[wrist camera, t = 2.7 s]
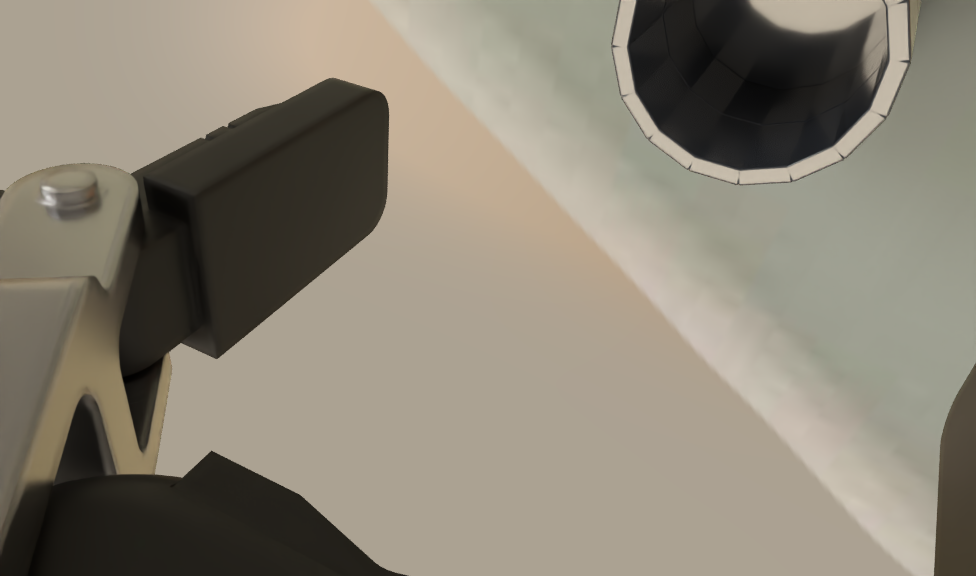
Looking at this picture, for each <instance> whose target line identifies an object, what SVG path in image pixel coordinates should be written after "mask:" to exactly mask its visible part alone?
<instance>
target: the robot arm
mask: <svg viewBox="0 0 976 576" xmlns="http://www.w3.org/2000/svg"><path fill="white" fill-rule="evenodd" d="M388 132H389V108H388V103H387V100H386V98H385V96H384V95H383V94H382V93H381V92H379V91H376V90H372V89H369V88H366V87H362V86H359V85H356V84H353V83H349V82H346V81H343V80H340V79H336V78H329V79H326V80H324V81H322V82H320V83H318V84H317V85H315V86H313V87H311V88H309V89H307V90H305V91H303V92H302V93H300V94H298V95H296V96H294V97H292V98H290V99H288V100H286V101H285V102H282V103H280V104H275V105H272V106H267V107H263V108H259V109H255V110H253V111H251V112H249V113H248V114H246V115H244V116H242V117H240V118H238V119H236V120H234V121H232V122H230V123H229V124H228V127H224V126H222V127H220V128H218V129H217V130H215V131H213V132H211V133H209V134H207V135H206V138H205V139H203V138H199V139H197V140H196V141H194V142H191V143H189V144H188V145H186V146H184V147H182V148H180V149H178V150H176V151H174V152H172V153H170V154H168V155H167V156H164V157H163V158H161V159H159V160H157V161H155V162H153V163H151V164H149V165H147V166H145V167H143V168H141V169H139V170H137V171H135V172H133V173H132V174H129V173H127V172H125V171H123V170H121V169H119V168H116V167H112V166H107V165H102V164H90V163H80V164H67V165H60V166H55V167H50V168H46V169H42V170H39V171H36V172H34V173H31V174H29V175H26V176H24V177H22V178H20V179H19V180H17V181H16V182H14V183H13V184H12V185H10V186H9V187H8V188H7V190H6V191H4V190H0V576H407V575H403V574H398V573H395V572H392V571H388V570H386V569H384V568H382V567H380V566H379V565H378V564H376V563H375V562H374V561H373V560H371V559H370V558H369V557H368V556H367V555H366V554H365V553H364V552H363V551H362V550H360V549H359V548H358V547H357V546H356V545H355V544H354V543H353V542H352V541H350V540H349V539H348V538H347V537H346V536H345V535H344V534H343V533H342V532H340V531H339V530H338V529H337V528H336V527H335V526H334V525H333V524H332V523H331V522H329V521H328V520H327V519H326V518H325V517H324V516H323V515H322V514H321V513H320V512H318V511H317V510H316V509H315V508H314V507H313V506H312V505H311V504H310V503H308V502H307V501H306V500H305V499H304V498H303V497H302V496H301V495H299V494H297V493H295V492H293V491H291V490H289V489H287V488H285V487H283V486H281V485H279V484H277V483H275V482H273V481H271V480H269V479H267V478H265V477H263V476H261V475H259V474H257V473H255V472H253V471H251V470H248V469H247V468H245V467H243V466H241V465H239V464H237V463H235V462H233V461H231V460H229V459H227V458H225V457H223V456H221V455H219V454H217V453H215V452H213V451H211V452H210V453H209V454H208V455H206V456H205V457H204V458H203V459H202V460H201V461H200V462H199V463H198V464H197V465H196V466H195V467H194V468H193V469H192V470H190V471H189V472H188V473H187V474H186V475H185V476H184V477H183V478H181V477H173V476H164V475H155V469H156V463H157V457H158V451H159V445H160V439H161V433H162V428H163V421H164V416H165V410H166V404H167V398H168V392H169V386H170V380H171V374H172V365H171V360H170V355H169V351H171V350H172V349H173V348H175V347H176V346H177V345H178V344H180V343H183V344H185V345H187V346H189V347H191V348H194V349H196V350H198V351H200V352H202V353H205V354H207V355H209V356H211V357H213V358H215V359H218V358H219V357H220V356H221V355H223V354H224V353H225V352H226V351H227V350H229V349H230V348H231V347H232V346H234V345H235V344H236V343H237V342H239V341H240V340H241V339H242V338H243V337H245V336H246V335H247V334H248V333H249V332H251V331H252V330H253V329H254V328H256V327H257V326H258V325H259V324H260V323H262V322H263V321H264V320H265V319H266V318H268V317H269V316H270V315H271V314H273V313H274V312H275V311H276V310H278V309H279V308H280V307H281V306H282V305H284V304H285V303H286V302H287V301H288V300H290V299H291V298H292V297H293V296H295V295H296V294H297V293H298V292H299V291H301V290H302V289H303V288H304V287H306V286H307V285H308V284H309V283H310V282H312V281H313V280H314V279H315V278H317V277H318V276H319V275H320V274H321V273H322V272H324V271H325V270H326V269H327V268H329V267H330V266H331V265H332V264H333V263H335V262H336V261H337V260H338V259H340V258H341V257H342V256H343V255H345V254H346V253H347V252H348V251H349V250H351V249H352V248H353V247H354V246H356V245H357V244H358V243H359V242H360V241H362V240H363V239H364V238H365V237H366V236H368V235H369V234H370V233H371V232H372V231H373V229H374V228H375V227H376V225H377V224H378V222H379V220H380V218H381V216H382V214H383V211H384V208H385V204H386V199H387V183H388V182H387V181H388V135H389V133H388ZM934 576H976V364H975V365H974V367H973V369H972V370H971V372H970V374H969V375H968V377H967V379H966V380H965V382H964V384H963V385H962V387H961V389H960V390H959V392H958V394H957V396H956V398H955V400H954V402H953V404H952V406H951V409H950V411H949V414H948V416H947V419H946V422H945V426H944V429H943V433H942V438H941V445H940V464H939V485H938V505H937V526H936V547H935V568H934Z"/></svg>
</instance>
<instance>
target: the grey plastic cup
mask: <svg viewBox="0 0 976 576" xmlns="http://www.w3.org/2000/svg"><path fill="white" fill-rule="evenodd" d="M921 1H922V0H620V1H619V6H618V11H617V16H616V22H615V27H614V32H613V37H612V42H611V45H612V47H611V49H612V54H613V59H614V64H615V70H616V75H617V80H618V85H619V91H620V95H621V96H622V97H621V98H622V100H623V101H624V103H625V105H626V106H627V108H628V109H629V111H630V113H631V114H632V116H633V117H634V119H635V121H636V122H637V124H638V125H639V127H640V129H641V130H642V132H643V133H644V135H645V137H646V138H647V139H648V140H649V141H650V142H651V143H652V144H654V145H655V146H656V147H658V148H659V149H660V150H662V151H663V152H664V153H666V154H667V155H668V156H670V157H671V158H672V159H674V160H675V161H676V162H678V163H679V164H680V165H682V166H683V167H684V168H686V169H687V170H688V169H689V171H692V172H695V173H698V174H702V175H705V176H708V177H712V178H715V179H718V180H722V181H725V182H728V183H732V184H735V185H738V184H739V185H753V184H770V183H787V182H792V181H797V180H799V179H801V178H804V177H806V176H808V175H810V174H813V173H815V172H817V171H820V170H822V169H824V168H826V167H829V166H831V165H833V164H836V163H838V162H840V161H843V160H844V159H845V158H847V157H848V156H849V155H850V154H851V153H852V152H853V151H854V150H855V149H856V148H857V147H858V146H859V145H860V144H861V143H862V142H863V141H864V140H865V139H866V138H867V137H868V136H870V135H871V134H872V133H873V132H874V131H875V130H876V129H877V128H878V127H879V126H880V125H881V124H882V123H883V122H884V121H885V120H886V118H887V116H888V115H889V114H890V111H891V109H892V106H893V104H894V102H895V99H896V97H897V95H898V92H899V90H900V88H901V85H902V83H903V80H904V78H905V76H906V73H907V71H908V69H909V66H910V64H911V59H912V53H913V47H914V41H915V36H916V30H917V24H918V18H919V12H920V6H921Z"/></svg>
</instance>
